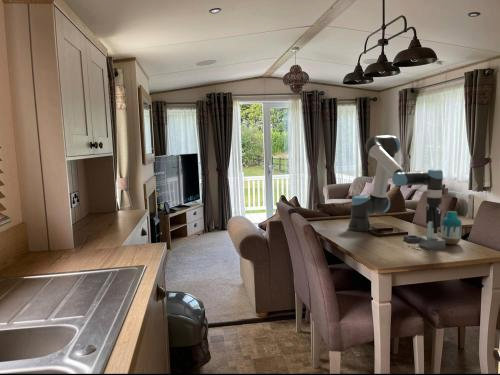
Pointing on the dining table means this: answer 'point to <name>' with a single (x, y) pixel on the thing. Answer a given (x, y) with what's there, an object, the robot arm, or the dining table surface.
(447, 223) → the vase
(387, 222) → the dining table surface
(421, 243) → the port panel
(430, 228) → the plug
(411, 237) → the holster
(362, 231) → the robot arm
